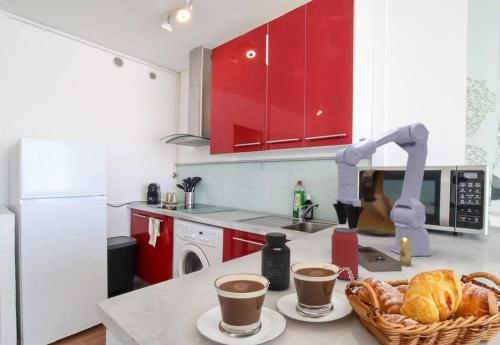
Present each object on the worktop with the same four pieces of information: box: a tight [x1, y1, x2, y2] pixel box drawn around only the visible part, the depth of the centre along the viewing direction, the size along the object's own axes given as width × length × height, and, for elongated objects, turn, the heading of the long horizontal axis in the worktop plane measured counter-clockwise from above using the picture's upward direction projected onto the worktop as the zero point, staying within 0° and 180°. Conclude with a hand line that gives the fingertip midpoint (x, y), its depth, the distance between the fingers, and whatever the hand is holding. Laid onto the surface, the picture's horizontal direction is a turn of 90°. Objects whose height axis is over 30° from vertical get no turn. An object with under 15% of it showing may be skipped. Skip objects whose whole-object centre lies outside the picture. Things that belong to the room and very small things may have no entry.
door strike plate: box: [358, 244, 403, 272], centre depth 85 cm, size 24×9×3 cm, turn 4°
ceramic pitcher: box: [356, 168, 396, 236], centre depth 125 cm, size 20×20×30 cm
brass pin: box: [399, 237, 412, 267], centre depth 79 cm, size 3×3×8 cm
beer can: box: [331, 227, 359, 281], centre depth 70 cm, size 7×7×12 cm
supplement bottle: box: [260, 231, 291, 292], centre depth 63 cm, size 7×7×12 cm
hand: (347, 226), depth 87 cm, fingers open, 7 cm apart
